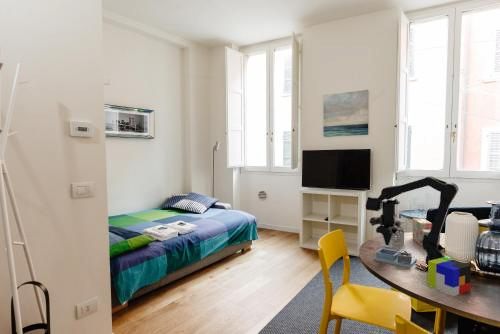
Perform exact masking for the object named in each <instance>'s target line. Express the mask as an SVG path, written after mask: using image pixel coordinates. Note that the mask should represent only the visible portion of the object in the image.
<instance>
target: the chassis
mask: <svg viewBox="0 0 500 334" xmlns="http://www.w3.org/2000/svg"><path fill="white" fill-rule="evenodd" d="M398 252H401V251H399V250H395V249H391V248H390V249H389V248H386V247H381V248H380V249H378V250H377V251H376V252H375V254H376V256H375V257H374V260H375V261H378V262H383V263H386V264H390V265H396V266H399V267H405V268H407V269H408V268H409V269H411V268H412V267H414V265H415V263H416V262H417V261H418V260H417V258H416V257H412V259H411V262H403V261H398ZM405 256H406V255H405Z"/></svg>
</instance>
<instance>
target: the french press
mask: <svg viewBox="0 0 500 334" xmlns="http://www.w3.org/2000/svg"><path fill="white" fill-rule="evenodd" d="M395 220H397V221H399V222H400V224H405V222H406V221H405V219H402V218H400V217H395ZM394 227H395V228H398V230H397V232H396V234H395V246H394V247H393V248H395V249H404V248H407V245H406V244H405V230H404V229H405V228H404V227H401V226H400V227H397V226H394Z"/></svg>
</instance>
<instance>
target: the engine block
mask: <svg viewBox="0 0 500 334" xmlns="http://www.w3.org/2000/svg"><path fill="white" fill-rule="evenodd" d="M395 237H396V236H395V234H393V235H392V237H391V240H390V242H389V245H386V244H385V240H384V237H383V235H382V234H381V247H384V248H386V247H387V248H390V249H393V248H394V246H395Z"/></svg>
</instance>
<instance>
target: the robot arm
mask: <svg viewBox="0 0 500 334" xmlns="http://www.w3.org/2000/svg"><path fill="white" fill-rule="evenodd" d="M424 187H431V188H432V189H434V190H436V192H437V191H438V192H440V194H439V204H438V207H437V210H436V213H435V216H434V218H433V219H434V220H433V222H432V227H431V230H430V232H426V233H425V234H424V238H423V241H422V242H421V243H423V244H422V246H423V247H422V248H423V250H424V251H425V252H426V256H425V265H426V264H427V265H428V261H430V260H435V259H439V258H443V257H446V256H445V255H443V254H444V252H445V250H446V249H445V248H444V247H443V246H442V245H441V244H440V242H441V232H442V229H443V226H444V224H445V220H446V218H447V214H448V212H449V208H450V206H451V204H452V202H453V200H454V199H455V197H456V196H457V194H458V192H459V186H458V185H457V184H456V182H455V183H454V182H447V181H444V180H442V179H439V178H435V177H434V176H431V175H429V176H426V177H424V178H420V179H417V180H414V181H410V182H407V183H403V184H398V185H390V186H389V185H388V186H385V187H384V188H382V189H381V191H380V195H379V196H378V197H372V196H367V197H366V198H367V199H366V203H365V209H366V211H370V212H371V211H372V212H373V211H374V212H380V210H382V212H381V214H380V216H373V217H371V218H370V219H369V224H370V225H371V226H372V227H373V226H376V225H379V226H377V227H376V228H375V233H379V234H381V236H382V235H383V237H384V240H385V244H386V245H389V242H390V240H391V237H392V235H393V234H396V232H398V231H397V230H398V228H395V227H394V226H397V227H401V223H400V222H399V221H397V220H395V218H397V213H396V206H398V205H399V204H401V202H400V201H399V200H398V199H397V198H395V197H397V196H400V195H402V194H403V193H408V192H411V191H414V190H417V189H421V188H424ZM393 198H394V200H393ZM427 265H426V266H427Z"/></svg>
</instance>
